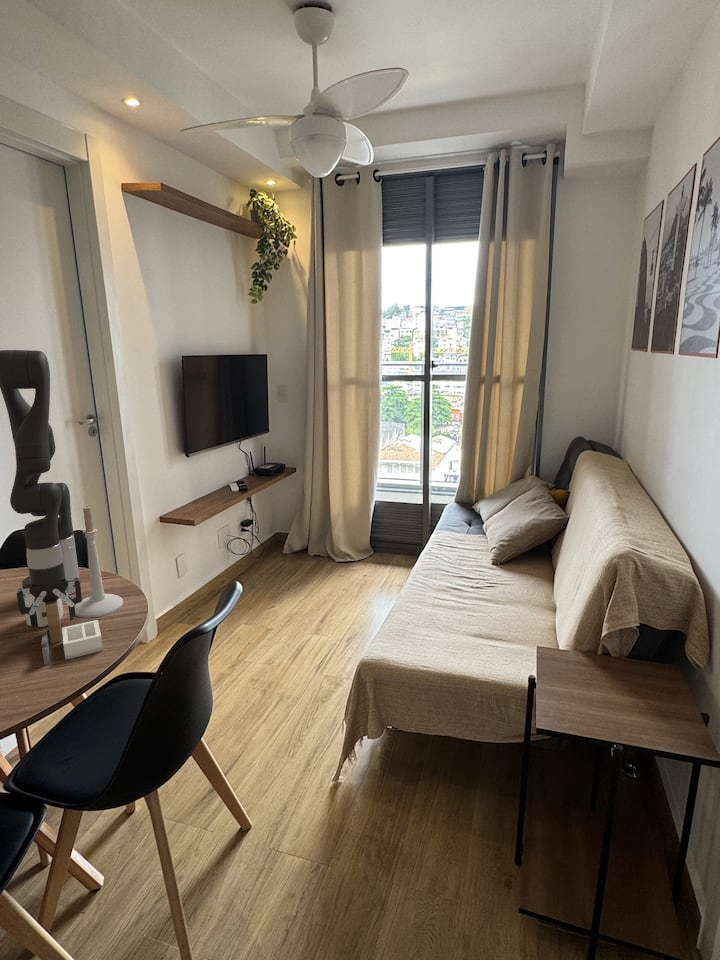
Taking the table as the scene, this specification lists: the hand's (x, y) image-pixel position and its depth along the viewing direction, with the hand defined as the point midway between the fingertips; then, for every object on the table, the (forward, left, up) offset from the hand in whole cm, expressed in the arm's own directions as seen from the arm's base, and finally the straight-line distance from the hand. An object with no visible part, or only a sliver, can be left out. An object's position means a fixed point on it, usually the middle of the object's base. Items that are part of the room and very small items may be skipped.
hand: (54, 622), depth 135 cm
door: (0, 0, -4) cm, 4 cm away
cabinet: (+9, +3, -4) cm, 11 cm away
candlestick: (-12, +11, -4) cm, 16 cm away
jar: (-11, -2, -4) cm, 12 cm away
